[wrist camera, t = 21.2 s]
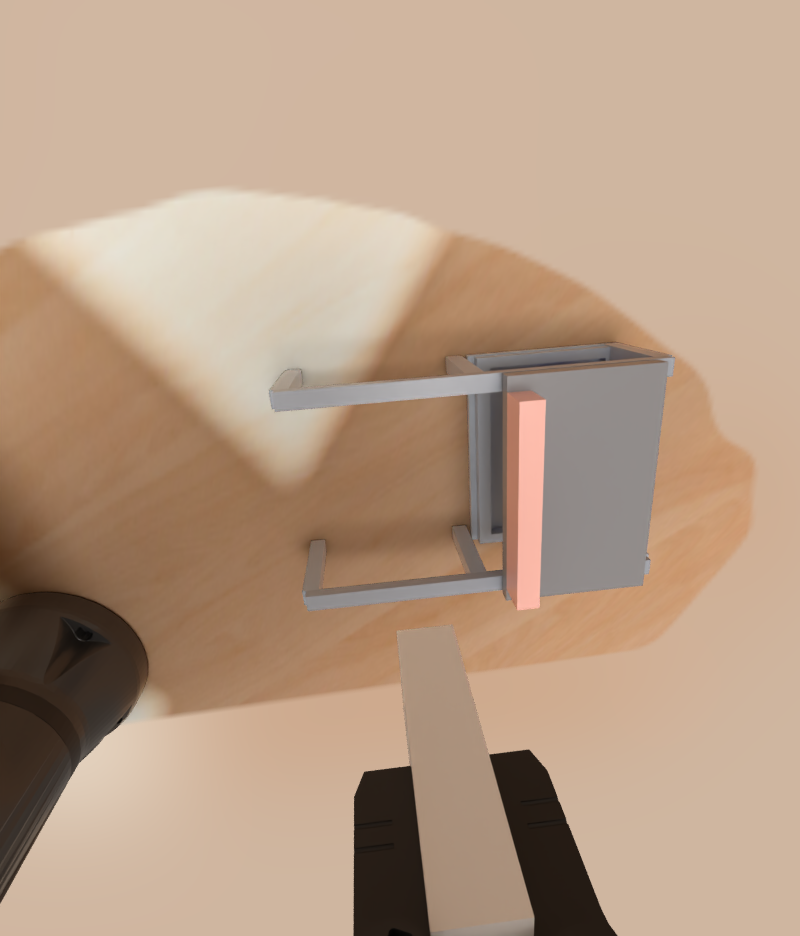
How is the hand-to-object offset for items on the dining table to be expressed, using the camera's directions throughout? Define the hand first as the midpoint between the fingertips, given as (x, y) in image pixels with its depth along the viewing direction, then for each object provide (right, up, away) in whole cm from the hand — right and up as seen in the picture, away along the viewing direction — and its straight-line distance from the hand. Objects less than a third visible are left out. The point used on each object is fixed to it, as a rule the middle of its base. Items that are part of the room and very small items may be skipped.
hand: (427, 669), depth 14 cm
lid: (+11, +4, +20) cm, 24 cm away
